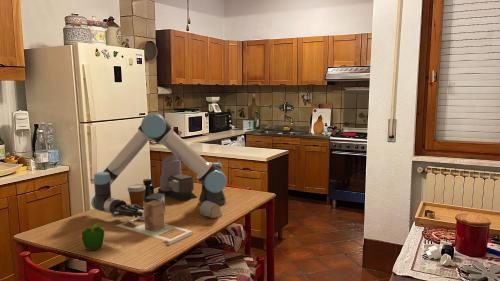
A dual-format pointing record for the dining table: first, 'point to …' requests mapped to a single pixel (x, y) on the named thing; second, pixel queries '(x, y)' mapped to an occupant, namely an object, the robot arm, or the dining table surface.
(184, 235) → the trap board
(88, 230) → the bell pepper
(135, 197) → the disposable coffee cup
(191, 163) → the robot arm
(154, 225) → the walnut block
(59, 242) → the dining table surface
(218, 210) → the ceramic mug
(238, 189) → the dining table surface
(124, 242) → the dining table surface
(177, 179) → the juicer
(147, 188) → the supplement bottle
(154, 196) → the small box
